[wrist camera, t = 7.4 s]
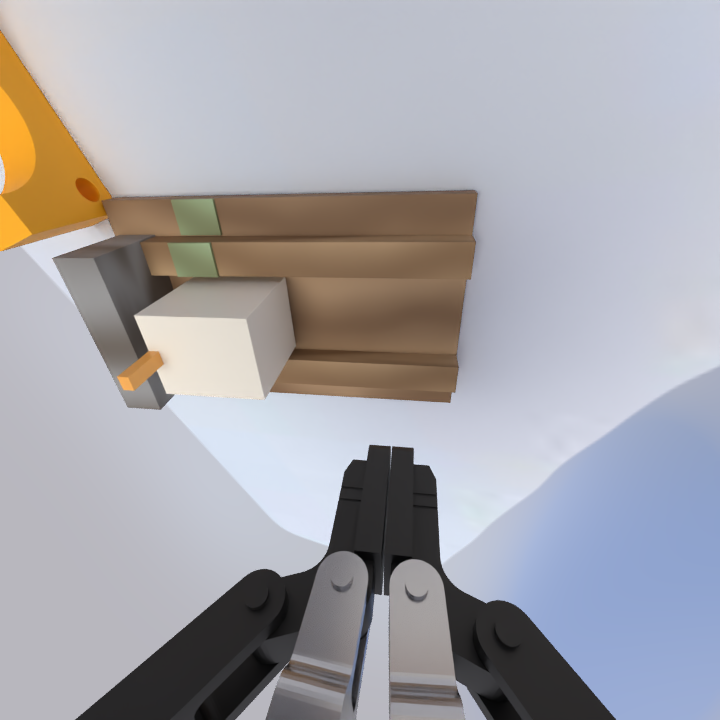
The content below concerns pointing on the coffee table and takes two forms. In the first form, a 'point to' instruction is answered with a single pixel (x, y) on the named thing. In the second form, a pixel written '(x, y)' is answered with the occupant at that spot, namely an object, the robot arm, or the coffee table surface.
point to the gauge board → (296, 282)
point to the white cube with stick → (216, 338)
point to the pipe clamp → (40, 164)
